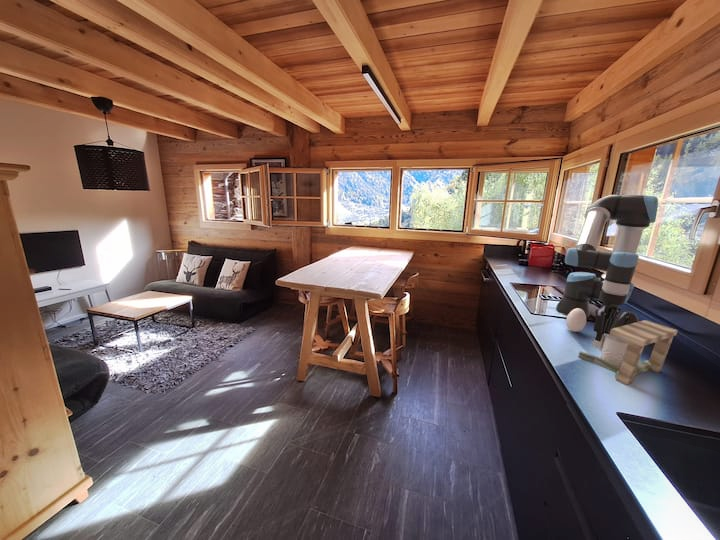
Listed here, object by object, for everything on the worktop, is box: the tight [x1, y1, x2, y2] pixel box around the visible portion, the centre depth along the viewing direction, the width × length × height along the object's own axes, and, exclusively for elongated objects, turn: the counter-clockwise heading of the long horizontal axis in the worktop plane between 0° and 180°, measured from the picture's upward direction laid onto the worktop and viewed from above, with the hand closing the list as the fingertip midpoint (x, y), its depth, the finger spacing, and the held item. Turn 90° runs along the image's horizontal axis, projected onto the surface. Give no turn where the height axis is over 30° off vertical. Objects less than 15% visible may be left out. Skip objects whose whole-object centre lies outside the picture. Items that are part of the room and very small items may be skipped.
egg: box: [565, 308, 587, 333], centre depth 135 cm, size 7×7×12 cm
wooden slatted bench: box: [578, 319, 679, 386], centre depth 107 cm, size 24×18×17 cm
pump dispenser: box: [608, 310, 640, 332], centre depth 124 cm, size 10×10×15 cm
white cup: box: [599, 334, 629, 367], centre depth 110 cm, size 8×8×10 cm
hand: (597, 347), depth 114 cm, fingers closed
